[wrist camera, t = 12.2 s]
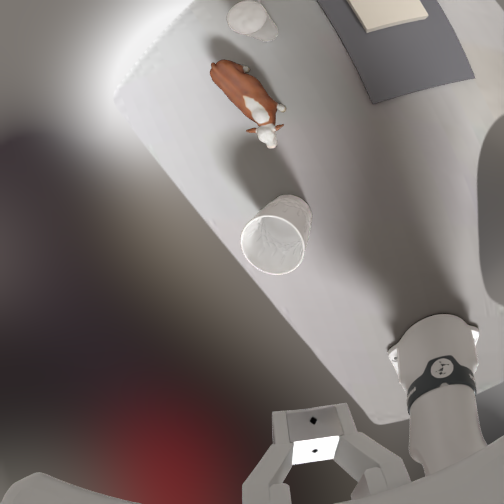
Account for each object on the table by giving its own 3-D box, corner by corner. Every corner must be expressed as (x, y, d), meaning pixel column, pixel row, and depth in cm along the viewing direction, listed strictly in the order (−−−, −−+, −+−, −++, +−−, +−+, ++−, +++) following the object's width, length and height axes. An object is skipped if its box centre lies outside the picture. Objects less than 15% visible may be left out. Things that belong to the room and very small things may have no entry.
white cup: (264, 187, 42) (239, 211, 33) (318, 193, 39) (307, 219, 31) (263, 236, 45) (241, 269, 37) (313, 243, 43) (301, 279, 35)
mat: (473, 78, 23) (475, 78, 23) (372, 104, 31) (373, 104, 30) (396, -53, 16) (397, -54, 16) (297, -27, 24) (296, -29, 23)
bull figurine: (278, 146, 38) (260, 156, 31) (222, 74, 35) (194, 69, 28) (303, 129, 36) (291, 135, 29) (246, 55, 33) (220, 45, 26)
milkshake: (294, 25, 29) (274, 2, 20) (268, 52, 32) (241, 37, 23) (269, 8, 28) (242, -16, 20) (244, 34, 31) (211, 18, 23)
